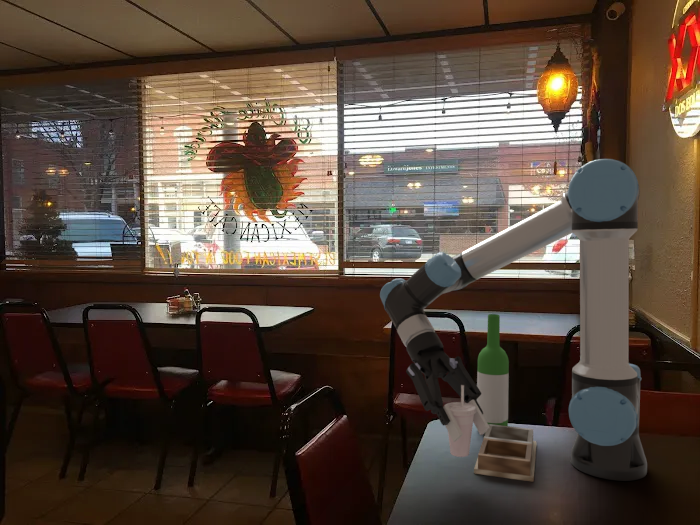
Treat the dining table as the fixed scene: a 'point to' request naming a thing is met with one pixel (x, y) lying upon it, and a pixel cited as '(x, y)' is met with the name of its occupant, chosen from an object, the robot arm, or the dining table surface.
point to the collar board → (507, 453)
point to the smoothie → (462, 425)
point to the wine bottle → (493, 376)
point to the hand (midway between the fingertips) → (471, 434)
